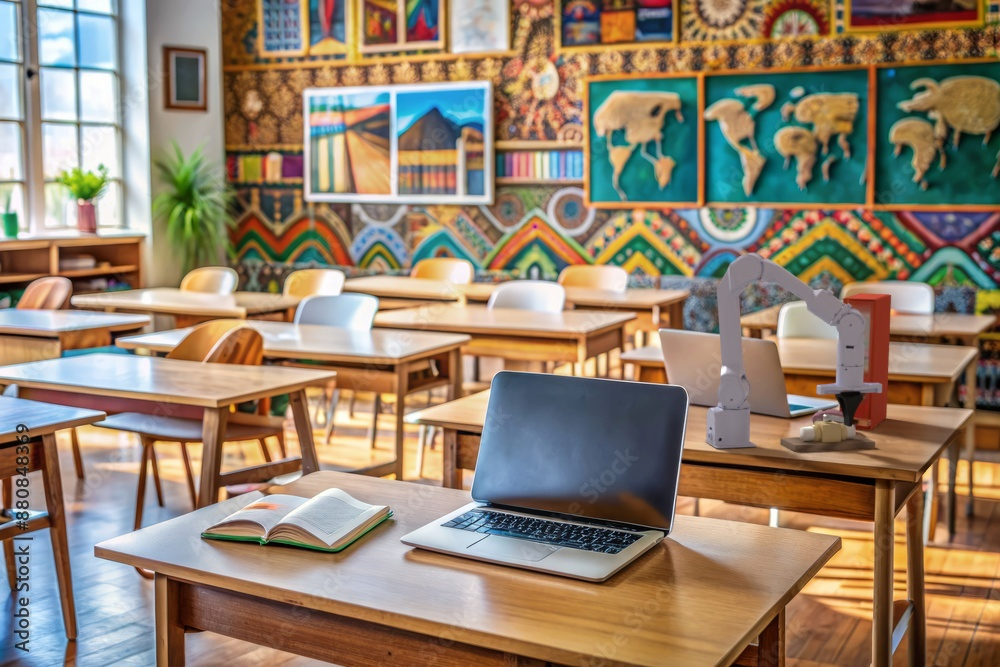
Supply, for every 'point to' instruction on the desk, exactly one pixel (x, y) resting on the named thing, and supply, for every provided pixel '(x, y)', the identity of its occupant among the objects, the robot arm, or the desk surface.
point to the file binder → (873, 353)
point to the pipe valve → (827, 432)
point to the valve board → (827, 444)
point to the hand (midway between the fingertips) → (848, 425)
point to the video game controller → (820, 413)
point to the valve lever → (839, 418)
